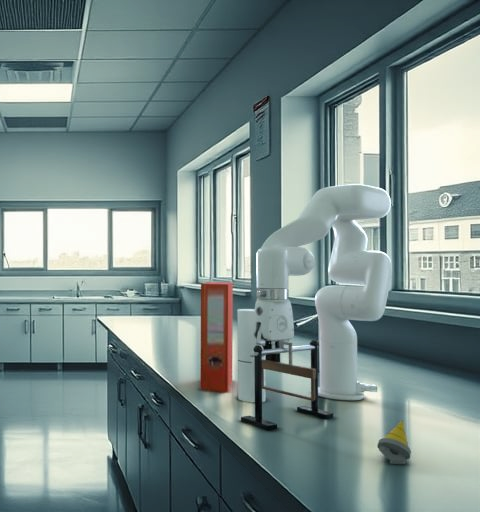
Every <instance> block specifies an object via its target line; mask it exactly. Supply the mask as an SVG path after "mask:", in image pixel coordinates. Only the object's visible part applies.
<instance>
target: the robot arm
mask: <svg viewBox="0 0 480 512" xmlns="http://www.w3.org/2000/svg"><path fill="white" fill-rule="evenodd" d="M391 207H392V200H391V197H390V195H389V193H388V192H387V191H386V190H385V189H383V188H381V187H376V186H372V185H366V184H362V183H351V184H350V183H349V184H342V185H334V186H332V185H331V186H327V187H326V186H325V187H323V188H320V189H318V190H317V191H316V192H315V193H314V194H313V196H312V197H311V199H310V200H309V201H308V203H307V204H306V206H305V207H304V209H303V210H302V211H301V213H300V215H299V216H298V217H297V218H296V219H294V220H292V221H291V222H289V223H286V224H285V225H284V226H282V227H281V228H278V229H277V230H276V231H274V232H272V233H271V234H270V235H269V236H268V237H267V239H266V240H265V241H264V242H263V244H262V245H261V247H260V248H259V249H257V251H256V260H255V263H256V264H255V265H256V292H255V295H256V300H255V305H254V309H255V310H254V322H253V332H254V337H255V338H256V339H257V340H256V344H257V345H261V346H262V347H263V349H264V350H266V349H276V348H280V341H283V342H289V343H290V340H292V339H293V338H294V336H295V324H294V313H293V307H292V303H291V300H290V299H289V296H290V295H289V293H290V290H289V287H290V286H289V276H290V277H291V276H292V277H294V276H295V277H300V276H305V275H308V274H309V273H311V271H313V269H314V268H315V263H316V258H315V256H314V254H313V253H312V251H311V250H309V248H306V247H302V246H307V245H309V244H311V243H314V242H315V243H316V242H318V241H320V240H322V239H324V238H325V237H326V236H327V235H328V233H329V232H330V230H331V228H332V230H333V234H334V240H333V245H332V250H331V255H330V259H329V263H328V269H327V275H328V277H329V279H330V280H331V281H333V282H334V283H336V285H326V286H323V287H321V288H319V289H318V290H317V292H316V293H315V296H314V304H315V311H316V314H317V321H318V339H319V340H318V343H319V345H318V359H319V386H318V397H321V398H325V399H330V400H336V401H337V400H339V401H360V400H364V398H365V394H364V393H365V392H369V393H377V392H378V385H377V384H369V383H363V382H362V383H361V382H360V381H359V379H358V335H357V332H356V329H355V328H354V326H353V325H352V323H351V322H350V321H360V322H361V321H363V322H374V321H375V322H376V321H379V320H380V319H381V318H383V315H384V314H385V310H386V307H387V301H388V296H389V292H390V286H391V283H392V275H393V265H392V260H391V258H390V257H389V255H388V254H387V253H385V252H383V251H380V250H367V246H368V241H369V240H368V236H367V234H366V232H365V231H364V229H363V228H362V227H361V226H360V224H358V222H357V221H358V220H359V221H360V220H375V219H381V218H384V217H385V216H387V215H388V214H389V212H390V210H391ZM337 283H338V285H337ZM339 284H345V285H339ZM347 284H348V285H347ZM359 285H363V286H359ZM265 360H270V361H276V362H281V353H277V354H268V355H265Z"/></svg>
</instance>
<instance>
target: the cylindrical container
mask: <svg viewBox="0 0 480 512" xmlns="http://www.w3.org/2000/svg"><path fill="white" fill-rule="evenodd" d="M254 310H255V308H237V312H236V313H237V318H236V319H237V320H236V321H237V324H236V325H237V399H238V400H239V401H242V402H247V403H255V366H254V350H253V349H254V347H255V346H256V345H257V344H256V340H257V339H256V338H255V337H254V332H253V322H254ZM259 346H261V345H259ZM261 347H262V346H261ZM262 349H263V347H262ZM263 350H264V349H263ZM262 359H265V355H262ZM264 386H265V387H266V369H264ZM265 402H266V390H265V389H262V403H265Z"/></svg>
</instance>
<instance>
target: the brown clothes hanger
mask: <svg viewBox="0 0 480 512" xmlns="http://www.w3.org/2000/svg"><path fill="white" fill-rule="evenodd" d="M284 346H288V347H289V352H288V363H287V362H281V361H280V362H276V361H270V360H265V359H262V389H265V391H270V392H273V393H274V392H275V393H277V394H282V395H286V396H291V397H295V398H298V399H303V400H306V401H310V402H311V401H314V400H315V379H316V369H313V368H311V367H307V366H302V365H297V364H293V352H292V347H293V343H292V342H290V341H289V342H283V341H280V348H285V347H284ZM264 369H265V370H267V371H273V372H277V373H281V374H282V373H283V374H286V375H291V376H296V377H302V378H307V379H310V394H311V393H312V398H311V396H307V395H302V394H298V393H294V392H289V391H285V390H282V389H277V388H273V387H268V386H266V385H265V386H264Z"/></svg>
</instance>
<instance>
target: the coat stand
mask: <svg viewBox="0 0 480 512" xmlns="http://www.w3.org/2000/svg"><path fill="white" fill-rule="evenodd" d="M253 350H254V366H255V402H254V416H252V415H244V416H241V417H240V423H243V424H246V425H249V426H253V427H256V428H258V429H262V430H265V431H267V432H268V431H273V430H278V423H275V422H272V421H269V420H266V419H263V402H262V355H268V354H277V353H280V354H285V353H286V354H287V353H289V346H287V347H286V346H285V347H284V348H276V349H266V350H263V349H262V347H261V346H259V345H256V346H255V347H254V349H253ZM304 351H310V368H313V369H316V379H315V400H314V401H310V406H308V405H300V406H297V407H296V412H297V413H300V414H301V413H302V414H305V415H309V416H312V417H315V418H319V419H322V420H328V419H333V418H334V412H332V411H328V410H324V409H319V396H318V387H319V340H317V339H311V340H310V341H309V344H305V345H297V346H292V353H295V352H304ZM310 397H311V398H312V393H311V392H310Z"/></svg>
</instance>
